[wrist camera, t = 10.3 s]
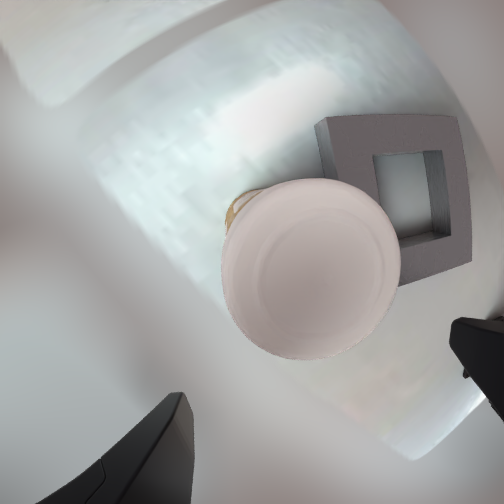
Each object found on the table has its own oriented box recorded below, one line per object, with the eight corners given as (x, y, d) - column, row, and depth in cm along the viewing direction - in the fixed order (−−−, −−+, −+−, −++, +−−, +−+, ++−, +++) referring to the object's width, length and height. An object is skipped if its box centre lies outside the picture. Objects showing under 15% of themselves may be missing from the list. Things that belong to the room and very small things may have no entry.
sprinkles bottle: (219, 248, 20) (204, 355, 6) (233, 182, 19) (244, 152, 6) (284, 261, 20) (373, 370, 7) (299, 197, 19) (425, 206, 6)
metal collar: (453, 255, 21) (471, 260, 19) (340, 288, 21) (353, 300, 18) (438, 121, 19) (456, 116, 16) (314, 125, 18) (325, 117, 16)
